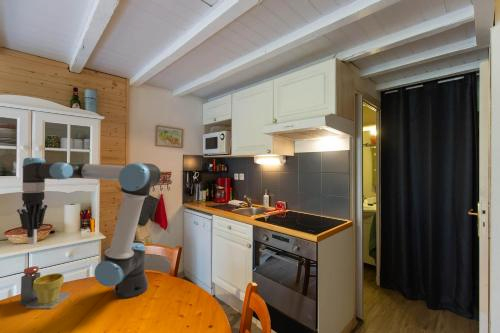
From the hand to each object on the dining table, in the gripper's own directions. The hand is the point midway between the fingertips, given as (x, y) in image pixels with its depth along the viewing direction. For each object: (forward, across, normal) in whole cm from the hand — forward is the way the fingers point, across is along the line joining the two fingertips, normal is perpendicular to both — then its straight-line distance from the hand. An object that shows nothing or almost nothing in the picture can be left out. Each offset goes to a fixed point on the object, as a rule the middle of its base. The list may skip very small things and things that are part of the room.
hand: (32, 243), depth 108 cm
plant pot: (+25, 0, +8) cm, 27 cm away
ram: (+24, 0, 0) cm, 24 cm away
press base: (+26, 0, +6) cm, 27 cm away
